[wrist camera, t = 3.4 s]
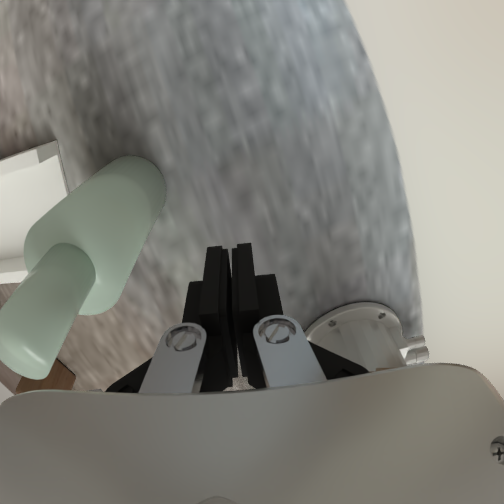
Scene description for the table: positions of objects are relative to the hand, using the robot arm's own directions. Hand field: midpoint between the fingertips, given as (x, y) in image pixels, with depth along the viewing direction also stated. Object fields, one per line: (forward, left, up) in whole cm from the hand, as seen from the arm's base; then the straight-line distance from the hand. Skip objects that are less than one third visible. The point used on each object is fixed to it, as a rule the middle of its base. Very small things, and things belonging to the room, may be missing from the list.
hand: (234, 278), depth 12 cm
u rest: (+24, 0, -14) cm, 28 cm away
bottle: (+8, 0, -14) cm, 17 cm away
